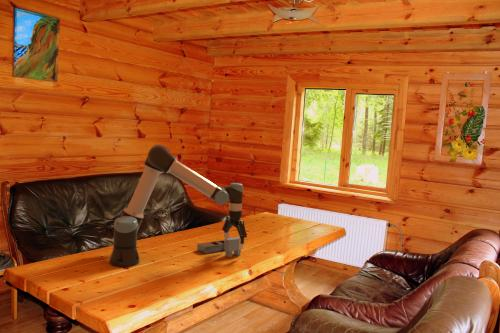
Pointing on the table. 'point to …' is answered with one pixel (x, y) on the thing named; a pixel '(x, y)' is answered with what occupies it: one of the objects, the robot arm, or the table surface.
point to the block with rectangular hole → (211, 247)
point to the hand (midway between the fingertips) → (233, 246)
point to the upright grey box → (232, 246)
